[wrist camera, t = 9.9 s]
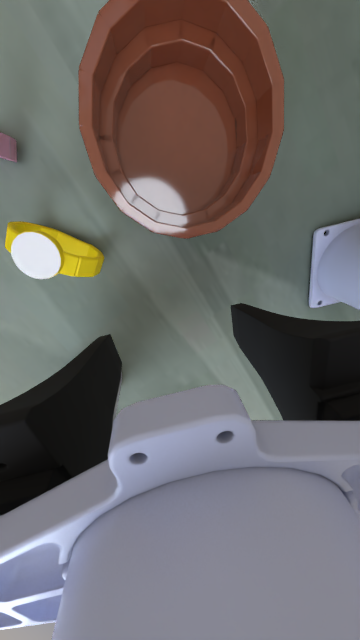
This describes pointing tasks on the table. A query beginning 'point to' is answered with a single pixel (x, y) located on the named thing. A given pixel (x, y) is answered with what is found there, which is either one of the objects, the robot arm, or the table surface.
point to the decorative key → (8, 148)
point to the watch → (50, 252)
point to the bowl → (181, 110)
